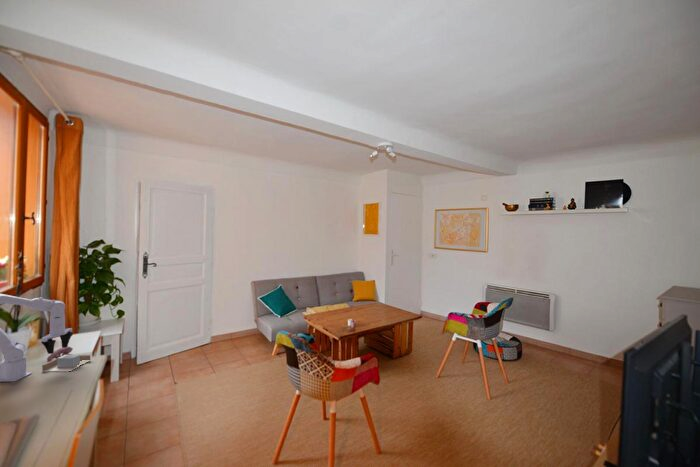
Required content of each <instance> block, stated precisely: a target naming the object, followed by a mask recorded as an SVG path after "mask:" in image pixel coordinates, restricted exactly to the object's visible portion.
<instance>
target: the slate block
mask: <svg viewBox="0 0 700 467" xmlns="http://www.w3.org/2000/svg"><path fill="white" fill-rule="evenodd" d="M80 355H81V354H67V355H64V356H62V355H61V357H59V358H57V368H74V367H76V366H77V365H79V364H80Z"/></svg>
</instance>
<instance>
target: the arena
mask: <svg viewBox="0 0 700 467" xmlns="http://www.w3.org/2000/svg"><path fill="white" fill-rule="evenodd" d="M79 355H80V361H82V360H90V361H91V354H79ZM63 356H64V355H63ZM41 367H42V371H41V372H42V373H45V372H46V373H47V372H48V373H51V372H53V373H55V372H56V373H59V372H60V373H61V372H62V373H68V371H71V372H73V371H74V370H73V369H75V368H76V369H78V368H77V366H76V367H74V368H57V359H56V358H54V359H52V360H50V361H48V362H46V363H43V364H42V366H41ZM76 369H75V370H76ZM72 370H73V371H72ZM65 371H66V372H65Z"/></svg>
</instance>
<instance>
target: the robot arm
mask: <svg viewBox="0 0 700 467" xmlns="http://www.w3.org/2000/svg"><path fill="white" fill-rule="evenodd" d="M3 304H9V305H15V306H25V307H28V308H29V310H32V311H33V310H34V311H39V312H40V311H41V312H49V313H50V316H49V334H47V335H45V336H43V337H41V342H40V343H41V344H42V345H43V346H44V348H45V349H46V352H47V354H49V355H51V354H52V353H53V352H54V351H55V344H56V342H57V340H56V339H55V338H57V337H59V338H60V342H61V343H60V344H61V348H66V347H67V346H69V342H70V341H71V340H70V339H71V338H72V337H73V335H74V334H73V327H69V328H66V314H65V312H66V311H65V310H66V304H65V302H64V301H62V300H55V299H46V298H44V297H41V296H40V297H35V298H33V299H30V298H24V297H20V296H14V295H8V294H4V293H0V305H3ZM26 349H27V347H26V345H25V344H24V343H20V342H18V340H16V339H13V338H12V336H10V335H9V334H7V332H6V331H5V330H4V329H3V328H1V327H0V353H1V354H3V360H1V361H0V382H17V381H19V380H22V379H23V378H26V377H28V376H30V375H32V374H33V373H32V372H27V355H25V351H26Z"/></svg>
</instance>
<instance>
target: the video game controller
mask: <svg viewBox="0 0 700 467" xmlns="http://www.w3.org/2000/svg"><path fill="white" fill-rule="evenodd" d="M73 349H74V348H72V347H71V346H69V345H68V346H67V347H66V348H62V347H60V348H59V349H55V350H54V352H53V353H52V354H49V355H48V357H46V358H47V359H46V361H48V362H50V361H52V360H54V359H57V358H59V357H61V356H63V355H70V353H71V352H72V351H73Z"/></svg>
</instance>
